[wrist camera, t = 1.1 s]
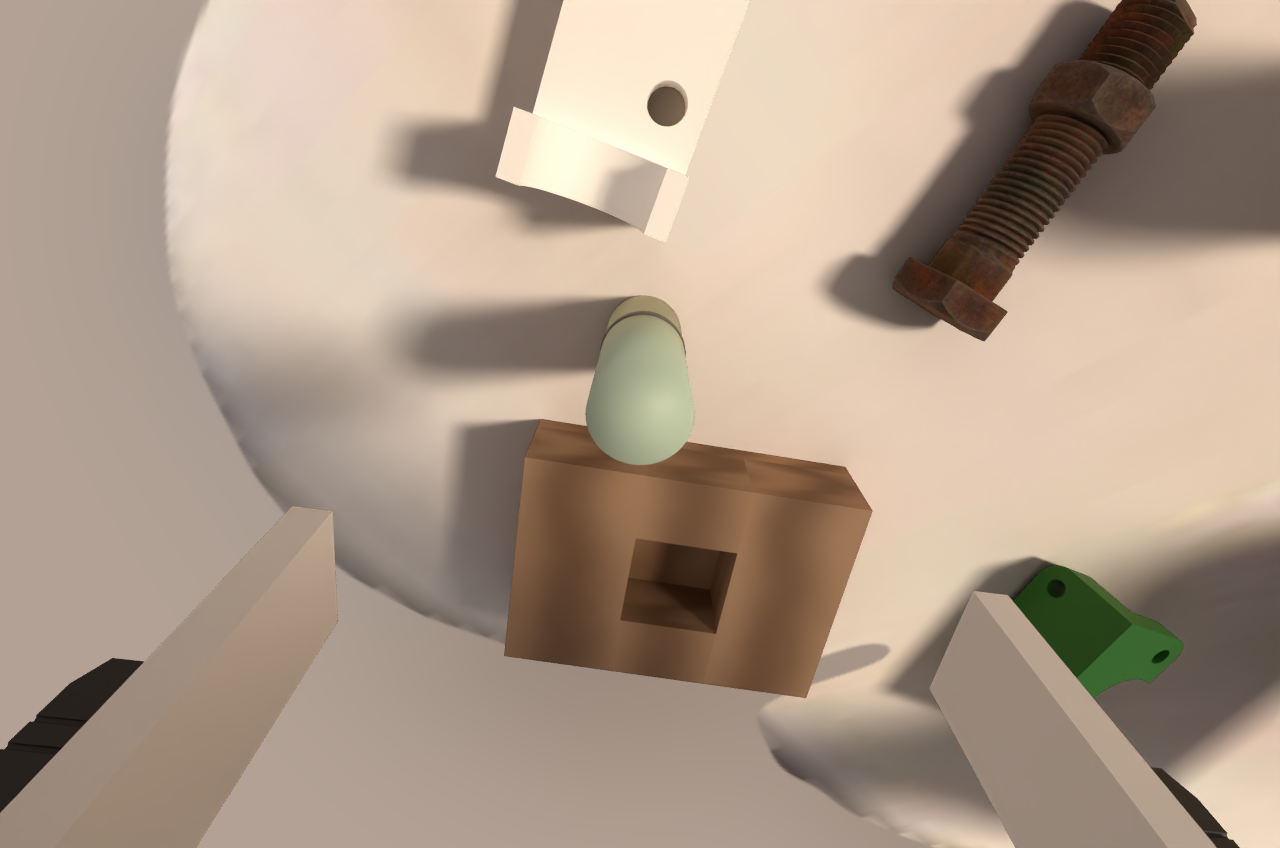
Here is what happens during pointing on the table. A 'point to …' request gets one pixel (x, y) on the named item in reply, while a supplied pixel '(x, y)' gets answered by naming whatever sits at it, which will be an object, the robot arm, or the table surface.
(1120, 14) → the bolt
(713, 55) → the bracket
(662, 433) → the peg
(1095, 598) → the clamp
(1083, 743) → the robot arm
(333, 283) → the table surface
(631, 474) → the board
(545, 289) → the table surface
